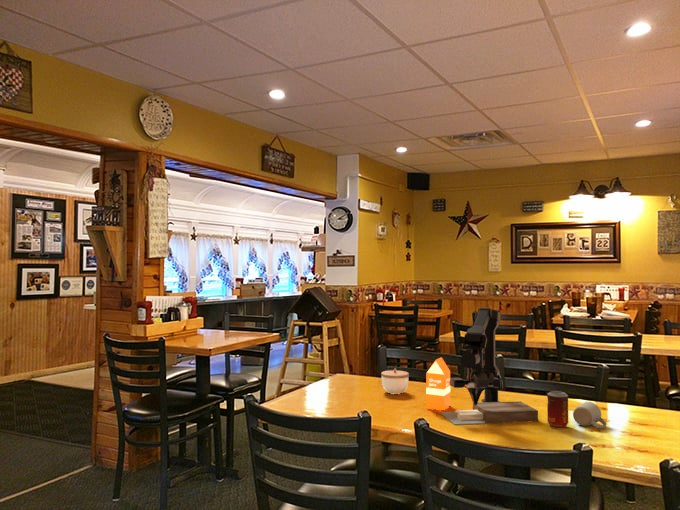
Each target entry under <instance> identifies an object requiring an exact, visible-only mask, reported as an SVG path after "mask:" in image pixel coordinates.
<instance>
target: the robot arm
mask: <svg viewBox="0 0 680 510" xmlns="http://www.w3.org/2000/svg"><path fill="white" fill-rule="evenodd" d="M476 315H477V316H476V319H475V320H474V323H473V325H472V326H471V327H469V328H468V329H467V331H466V333H464V336H463V337H464V338H463V341H462V342H463V343H462V347H461V348H462V349H461V350H464V351H465V352H464V353H463V354H462V355H461V357H460V362H461V365H462V366H463V367H464V368H466V369H467V375H466V379H463V378H461V377H450V387H453V388H455V389H463V388H465V389H466V390H467V391H468V393H469V395H470V397H471V398H470V399H471V401H472V404H473V403H474V405H477V403H479V400H480V397H481V395H482V393H484V394H483V395H484V396H483V397H484V398H483V399H481V401H482V403H483V402H501V401H499V391H501V390H503V389H504V384H503V378H502V376H501V374H500V368H498V366H497V365H496V330H497V329H498V327H499V325H500V322H501V313H500V311H498V310H497V309H493V308H490V307H479V308H478V311H477V314H476ZM483 351H484V352H483ZM481 401H480V402H481Z"/></svg>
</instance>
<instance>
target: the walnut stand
mask: <svg viewBox="0 0 680 510" xmlns="http://www.w3.org/2000/svg"><path fill="white" fill-rule="evenodd" d="M472 410H478V411H480V412H481V413H482V414H483V419H481V420H482V421H484V422H485V423H486V424H499V423H503V422H504V423H526V422H527V423H528V421H533V422H539V410H538V409H536V408H535V407H532V406H530V405H528V404H526V403H525V402H523V401H522V400H521V401H500V402H483V401H482V402H478V403H477V405H474V403H473V402H472Z"/></svg>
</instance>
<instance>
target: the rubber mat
mask: <svg viewBox="0 0 680 510" xmlns="http://www.w3.org/2000/svg"><path fill="white" fill-rule="evenodd" d="M440 414H441V415H442V417H445V418H446V419H447V420H448V421H449V422H450V423H451V424H452V425H454V426H461V425H465V426H466V425H469V426H470V425H486V424H487V423H486V422H485V421H484V420H482V419H476V420H459V419H458V418H457V417H456V416H455V411H440Z"/></svg>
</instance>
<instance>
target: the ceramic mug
mask: <svg viewBox="0 0 680 510" xmlns="http://www.w3.org/2000/svg"><path fill="white" fill-rule="evenodd" d="M572 417H573V420H574V421H575V422H576V424H578V425H580V426H582V427H588V426H591V425H592V426H593V427H595V428H598V429H600V430H601V429H602V430H603V428H604V429H606V427H607V425H608V424H607V421H606V420H604V419H603V418H602V411H601V408H600V407H599V406H598V405H597V404H596V403H594V402H592V401H585V402H584V403H582V404H580V405H578V406H577V407H575V408H574V410H573V412H572ZM598 422H600V423H601V424H600V423H598Z"/></svg>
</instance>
